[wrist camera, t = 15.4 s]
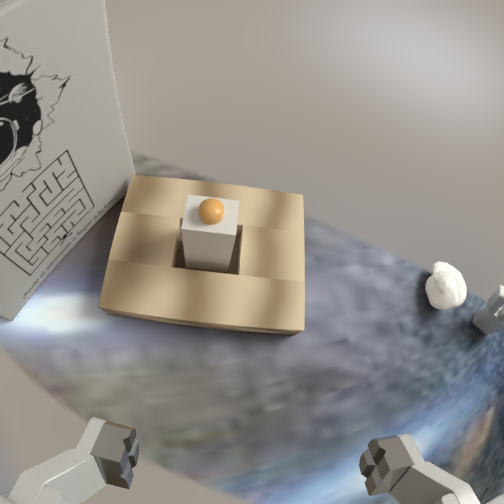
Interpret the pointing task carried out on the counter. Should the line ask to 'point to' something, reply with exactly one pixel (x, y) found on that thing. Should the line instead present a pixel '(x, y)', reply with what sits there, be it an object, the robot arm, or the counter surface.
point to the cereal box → (54, 137)
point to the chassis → (206, 281)
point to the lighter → (491, 313)
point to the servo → (209, 232)
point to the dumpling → (445, 287)
